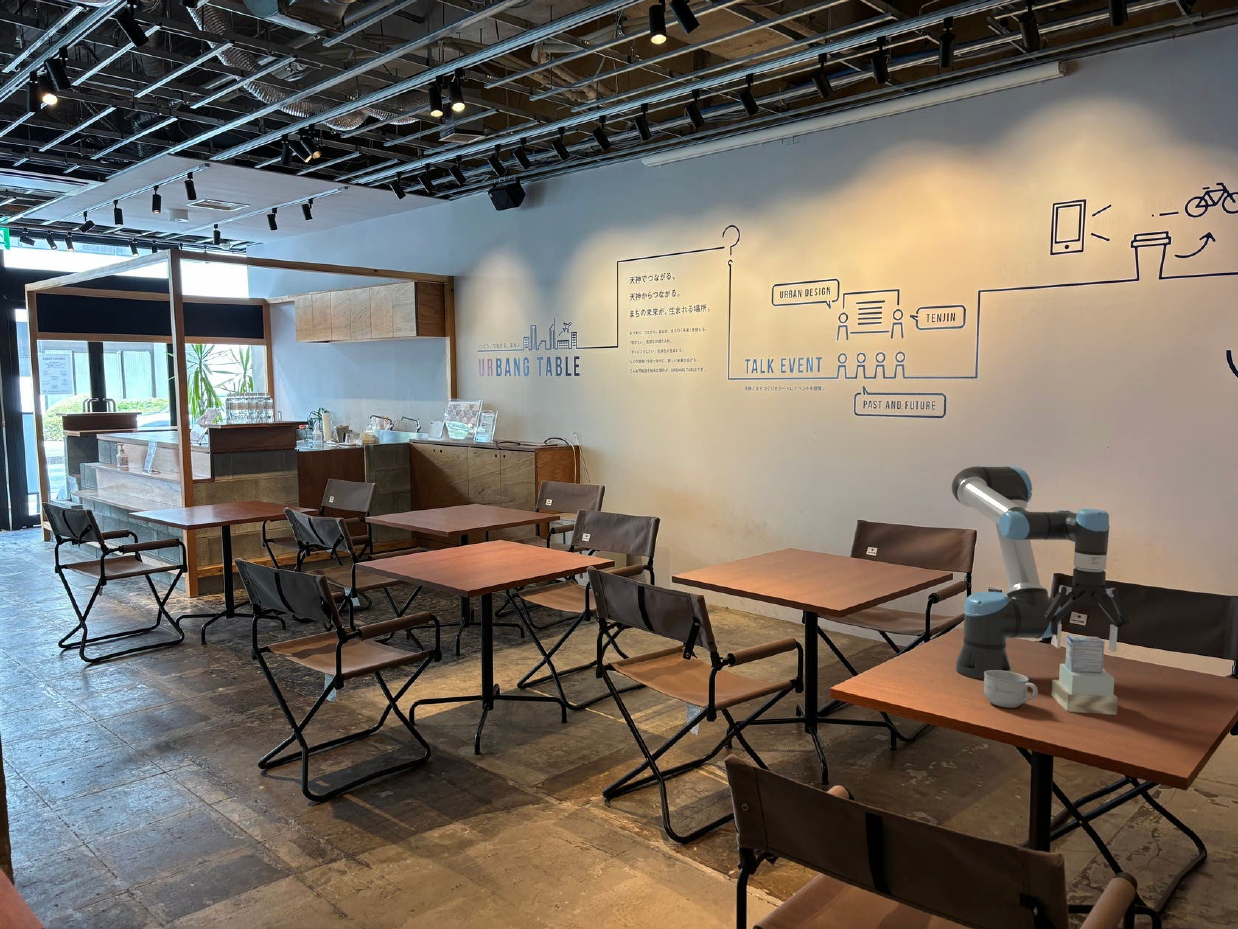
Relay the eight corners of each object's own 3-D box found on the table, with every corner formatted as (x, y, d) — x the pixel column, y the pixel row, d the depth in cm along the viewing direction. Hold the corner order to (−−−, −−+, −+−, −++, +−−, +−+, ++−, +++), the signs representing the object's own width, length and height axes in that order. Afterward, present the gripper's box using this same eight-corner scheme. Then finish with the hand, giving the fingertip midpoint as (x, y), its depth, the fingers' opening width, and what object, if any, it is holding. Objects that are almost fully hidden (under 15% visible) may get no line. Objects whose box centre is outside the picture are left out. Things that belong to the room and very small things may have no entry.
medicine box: (1096, 668, 231) (1098, 636, 230) (1103, 674, 227) (1105, 641, 226) (1064, 666, 232) (1066, 635, 231) (1070, 672, 228) (1072, 639, 227)
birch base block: (1067, 713, 226) (1068, 694, 225) (1051, 697, 237) (1052, 679, 237) (1116, 716, 224) (1117, 697, 223) (1098, 700, 236) (1099, 682, 235)
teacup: (973, 700, 233) (975, 670, 233) (1003, 695, 237) (1005, 666, 237) (1016, 718, 220) (1017, 687, 220) (1046, 712, 225) (1048, 682, 224)
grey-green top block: (1071, 694, 226) (1072, 675, 225) (1058, 681, 235) (1059, 663, 235) (1113, 696, 224) (1114, 677, 223) (1098, 684, 234) (1099, 666, 233)
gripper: (1043, 569, 225) (1038, 649, 227) (1147, 574, 221) (1141, 655, 223) (1034, 563, 233) (1029, 641, 234) (1135, 568, 229) (1129, 647, 230)
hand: (1084, 648), depth 229 cm, fingers open, 13 cm apart
